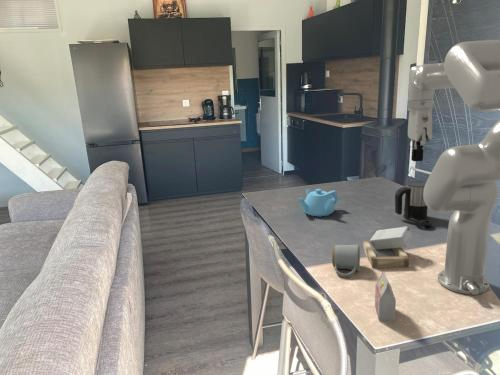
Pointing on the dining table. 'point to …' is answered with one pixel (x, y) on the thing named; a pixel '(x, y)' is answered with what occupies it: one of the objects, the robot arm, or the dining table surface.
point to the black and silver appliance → (412, 202)
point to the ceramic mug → (346, 258)
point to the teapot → (319, 202)
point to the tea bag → (384, 300)
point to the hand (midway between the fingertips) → (416, 160)
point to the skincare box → (391, 238)
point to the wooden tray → (386, 257)
